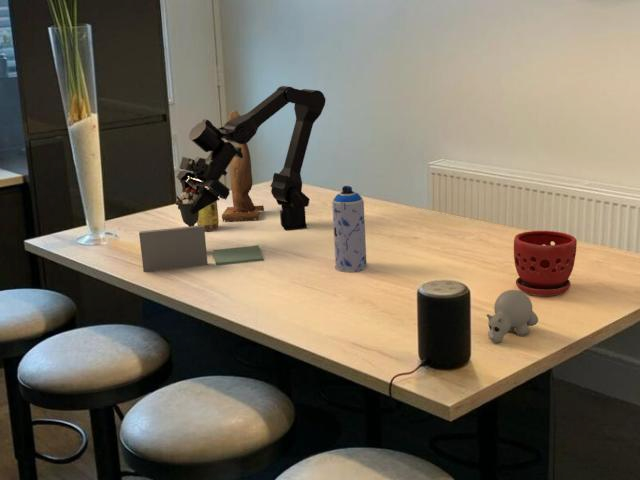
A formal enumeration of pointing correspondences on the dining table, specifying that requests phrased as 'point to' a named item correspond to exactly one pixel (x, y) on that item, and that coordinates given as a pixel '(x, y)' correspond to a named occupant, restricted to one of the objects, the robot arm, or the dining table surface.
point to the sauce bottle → (209, 217)
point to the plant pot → (544, 262)
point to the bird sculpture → (241, 187)
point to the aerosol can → (349, 231)
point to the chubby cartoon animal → (511, 315)
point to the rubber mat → (237, 255)
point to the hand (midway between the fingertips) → (185, 211)
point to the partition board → (173, 248)
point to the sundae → (188, 206)
